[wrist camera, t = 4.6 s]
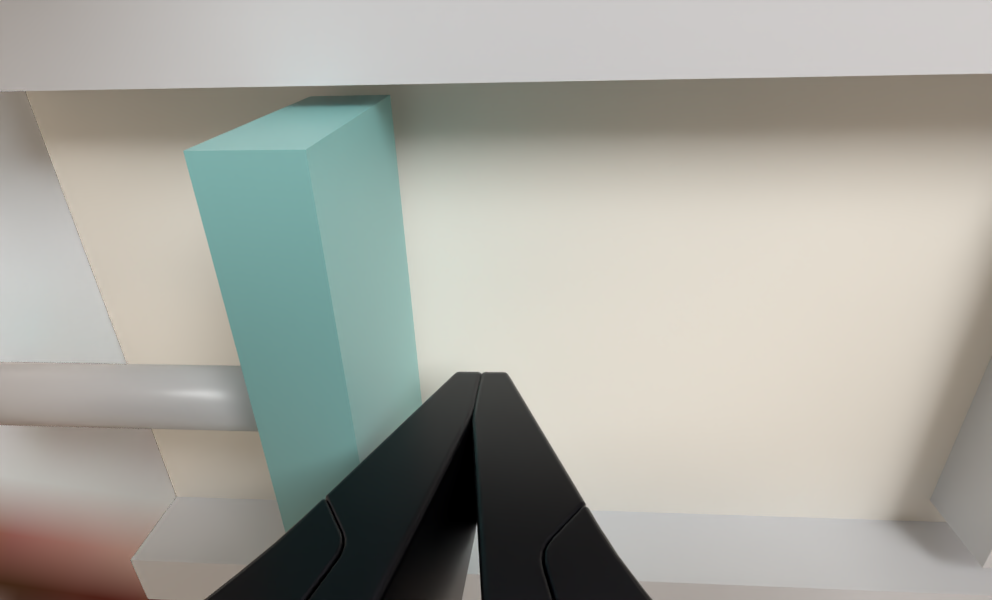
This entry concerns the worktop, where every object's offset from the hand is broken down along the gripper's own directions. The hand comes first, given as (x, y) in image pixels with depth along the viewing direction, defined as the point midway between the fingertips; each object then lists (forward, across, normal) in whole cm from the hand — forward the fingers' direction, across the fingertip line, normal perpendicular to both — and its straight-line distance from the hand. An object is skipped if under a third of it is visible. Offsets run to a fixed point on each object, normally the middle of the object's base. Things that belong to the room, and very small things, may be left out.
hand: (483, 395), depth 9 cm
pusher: (+2, +5, 0) cm, 6 cm away
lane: (+3, -1, 0) cm, 3 cm away
